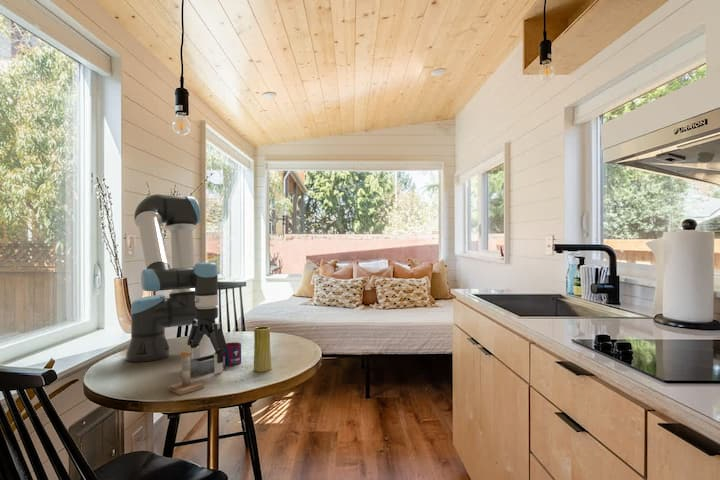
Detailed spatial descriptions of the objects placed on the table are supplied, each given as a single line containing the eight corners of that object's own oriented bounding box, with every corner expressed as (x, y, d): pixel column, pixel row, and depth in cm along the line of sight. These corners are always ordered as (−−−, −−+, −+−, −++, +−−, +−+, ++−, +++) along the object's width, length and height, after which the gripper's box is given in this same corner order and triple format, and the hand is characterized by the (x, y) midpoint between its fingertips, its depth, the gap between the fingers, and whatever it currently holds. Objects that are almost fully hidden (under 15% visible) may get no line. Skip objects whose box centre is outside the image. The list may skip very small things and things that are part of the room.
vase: (250, 369, 142) (249, 328, 142) (265, 365, 147) (265, 325, 147) (259, 373, 138) (259, 330, 138) (275, 369, 142) (274, 327, 142)
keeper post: (168, 390, 123) (168, 353, 123) (190, 383, 129) (189, 348, 129) (181, 394, 119) (181, 356, 119) (203, 387, 124) (203, 351, 125)
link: (188, 371, 141) (188, 359, 141) (213, 364, 149) (213, 353, 149) (199, 375, 137) (199, 363, 137) (225, 367, 145) (224, 356, 145)
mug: (227, 367, 146) (227, 347, 146) (214, 361, 153) (214, 343, 153) (244, 363, 150) (244, 344, 150) (231, 358, 157) (230, 340, 157)
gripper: (176, 305, 147) (177, 365, 147) (218, 311, 133) (219, 378, 132) (195, 303, 153) (196, 361, 153) (237, 308, 139) (238, 372, 138)
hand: (206, 369), depth 143 cm, fingers open, 13 cm apart
